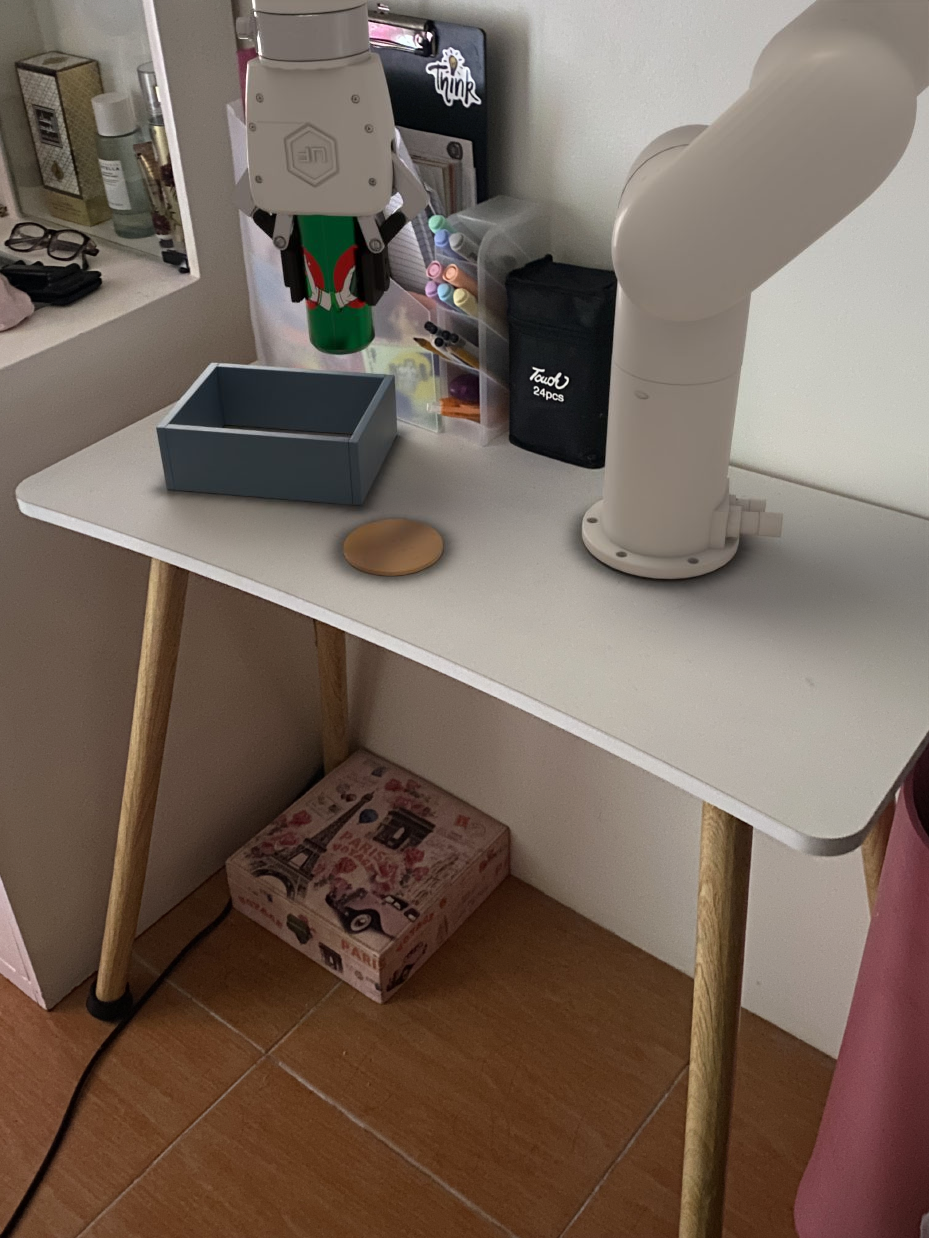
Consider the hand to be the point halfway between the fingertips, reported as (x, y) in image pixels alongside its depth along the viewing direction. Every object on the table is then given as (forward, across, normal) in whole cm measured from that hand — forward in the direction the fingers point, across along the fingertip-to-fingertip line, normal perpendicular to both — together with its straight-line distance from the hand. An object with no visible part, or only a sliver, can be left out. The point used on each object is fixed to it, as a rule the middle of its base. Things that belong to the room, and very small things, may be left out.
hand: (338, 295), depth 92 cm
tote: (+19, -9, +8) cm, 22 cm away
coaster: (+19, +4, -5) cm, 20 cm away
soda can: (+4, 0, 0) cm, 4 cm away
